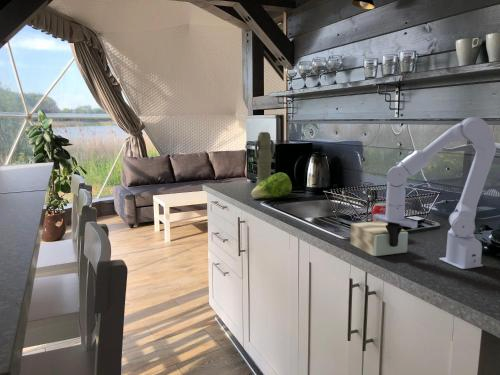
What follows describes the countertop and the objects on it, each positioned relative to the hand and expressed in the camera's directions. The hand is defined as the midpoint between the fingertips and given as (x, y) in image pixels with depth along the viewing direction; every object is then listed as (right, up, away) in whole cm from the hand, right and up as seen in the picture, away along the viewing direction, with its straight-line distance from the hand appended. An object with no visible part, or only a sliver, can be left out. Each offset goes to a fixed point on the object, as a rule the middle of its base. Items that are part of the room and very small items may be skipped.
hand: (393, 245), depth 139 cm
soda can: (+4, +1, +25) cm, 25 cm away
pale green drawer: (-2, -2, +8) cm, 9 cm away
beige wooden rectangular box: (-3, -2, +9) cm, 10 cm away
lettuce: (-35, +13, +99) cm, 106 cm away
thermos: (-38, +16, +118) cm, 125 cm away
